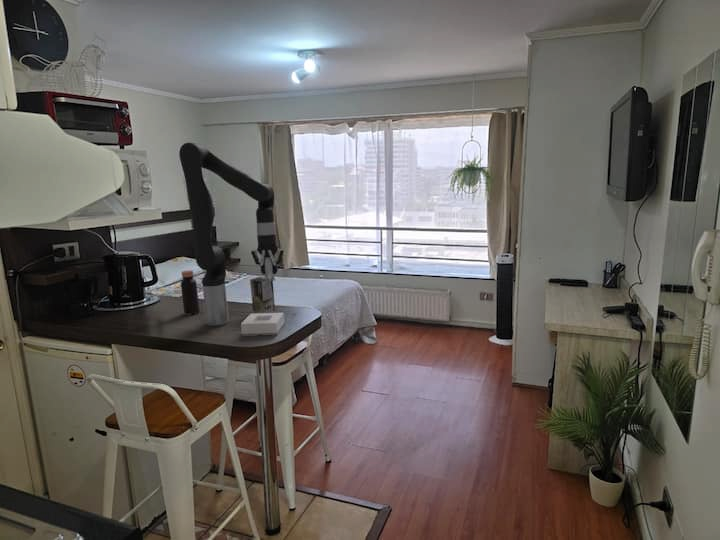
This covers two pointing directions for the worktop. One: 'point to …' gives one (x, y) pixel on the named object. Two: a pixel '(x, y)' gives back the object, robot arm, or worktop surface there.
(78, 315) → the worktop surface
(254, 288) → the coffee box
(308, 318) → the worktop surface
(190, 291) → the bottle
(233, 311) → the worktop surface
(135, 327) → the worktop surface
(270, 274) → the peg
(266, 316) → the socket block
